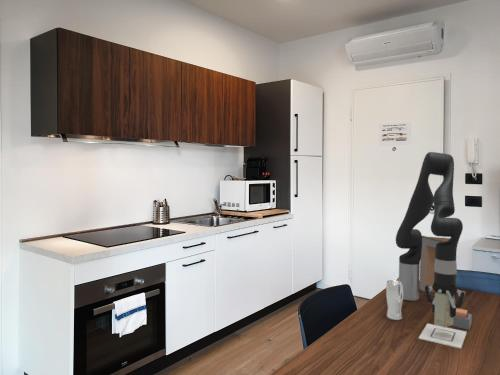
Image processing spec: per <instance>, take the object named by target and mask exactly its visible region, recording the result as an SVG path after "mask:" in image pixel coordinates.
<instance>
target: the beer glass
mask: <svg viewBox="0 0 500 375" xmlns="http://www.w3.org/2000/svg"><path fill="white" fill-rule="evenodd" d="M385 296H386V304H387V312H386V318H388V319H389V320H392V321H399V320H402V319H403V315H402V306H403V302H404V299H403V296H404V287H403V282H401V281H398V279H390V280H387V281H386V289H385Z"/></svg>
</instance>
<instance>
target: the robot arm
mask: <svg viewBox="0 0 500 375" xmlns="http://www.w3.org/2000/svg"><path fill="white" fill-rule="evenodd" d="M454 167H455V161H454V157H453V155H451V154H448V153H442V152H436V151H435V152H434V151H429V152H427V153H426V155H425V156H424V159H423V161H422V165H421V168H420V172H419V176H418V179H417V182H416V185H415V188H414V190H413V193H412V196H411V198H410V201H409V203H408V207H407V209H406V212H405V215H404V217H403V220H402V222H401V224H400V226H399V228H398V230H397V231H396V235H395V244H396V246H397V247H398V248H400V249H402V250H403V249H405V250H407V249H408V251H407V252H404V253H402V254H401V255H399V258H398V277H397V281H401V282H403V287H404V296H403V301H404V300H405V301H419V299H420V290H419V285H420V259H421V251H422V236H423V235H422V232H421V231H420V230H419V229H416V228H415V227H416V226H417V225H418V224H419V223H421V221H423V220H424V219H425V218H426V217H427V216H428V215H429V214H430V212H431V209H432V208H433V207H434V209H433V210H434V211H433V212H434V213H433V217H432V220H431V225H430V231H431V233H432V235H434V237H442V238H450V239H449V240H448V241H446V242H440V243H437V244H436V249H435V263H434V284H433V285H432V286H429V285H426V286H425V292H426V293H425V292H424V293H425V296H426V301H427V302H428V303H431V304H432V305H431V311H432V313H433V315H435V297H434V298H432V297H433V296H432V295H431V292H430V291H431V290H432V288H433V290H434V291H435V293H436V292H437V293H444V294H447V295H449V301H450V303H451V305H452V308H451V318H454V317H455V316H456V308H457V309H462V306H463V302H464V300H465V295H466V293H467V292H466V291H465V290H460V289H458V287H457V275H458V274H457V272H458V269H457V268H458V267H457V249H458V244H459V242H460V241H459V240H460V238H461V235H462V232H463V229H464V228H463V226H464V224H463V222H462V220H461V219H460V218H457V217H452V216H453V215H455V210H456V209H455V201H454V178H455V176H454V174H455V168H454ZM430 175H435V176H439V177H441V176H442V177H443V181H441V184H439V186H438V187H437V188H436V190H435V191H434V193H433V192H432V189H431V186H430V182H429V178H430ZM456 294H457V295H458V297H459V300H458V302H456V298H455V295H456ZM452 297H453V298H452Z"/></svg>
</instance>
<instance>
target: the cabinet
mask: <svg viewBox="0 0 500 375" xmlns="http://www.w3.org/2000/svg"><path fill="white" fill-rule="evenodd" d="M450 238H451V237H440V236H434V237H433V236H426V235H422V251H421V259H420V274H419V292H423V293H425V294H426V292H425V286H426V285H429V286H432V285H433V284H434V263H435V249H436V244H437V243H440V242H446V241H448V240H449V239H450ZM430 292H431V297H434V298H435V291H434V290H433V288H432V290H431V291H430Z"/></svg>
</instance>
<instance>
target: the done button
mask: <svg viewBox="0 0 500 375" xmlns="http://www.w3.org/2000/svg"><path fill="white" fill-rule="evenodd" d="M467 314H468V309H463V308H456V316H457V317H462V318H467Z"/></svg>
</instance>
